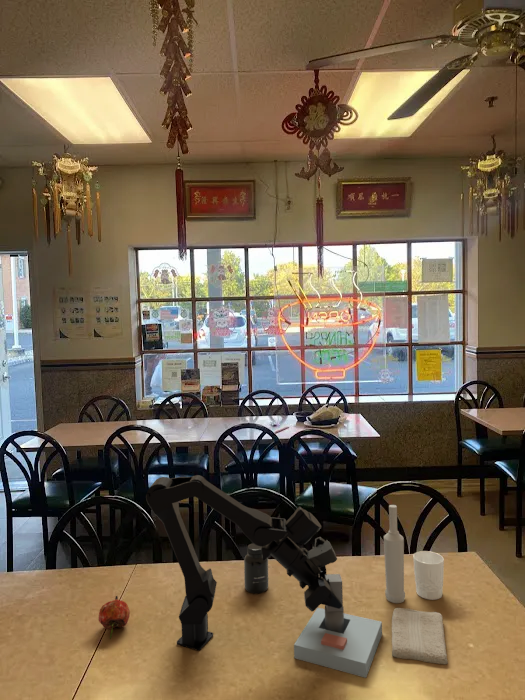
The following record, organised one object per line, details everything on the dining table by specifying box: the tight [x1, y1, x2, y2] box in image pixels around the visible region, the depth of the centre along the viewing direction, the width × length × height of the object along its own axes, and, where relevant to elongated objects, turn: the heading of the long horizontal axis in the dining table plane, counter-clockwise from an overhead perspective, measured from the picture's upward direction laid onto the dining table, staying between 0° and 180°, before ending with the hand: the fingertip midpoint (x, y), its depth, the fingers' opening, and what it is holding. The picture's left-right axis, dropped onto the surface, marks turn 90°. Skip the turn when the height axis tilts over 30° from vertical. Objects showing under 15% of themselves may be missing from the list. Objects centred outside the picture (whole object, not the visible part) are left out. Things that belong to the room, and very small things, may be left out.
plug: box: [324, 573, 345, 634], centre depth 114 cm, size 4×4×13 cm
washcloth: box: [391, 607, 449, 665], centre depth 113 cm, size 12×18×3 cm, turn 165°
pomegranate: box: [98, 595, 131, 640], centre depth 120 cm, size 7×7×10 cm
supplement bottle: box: [243, 543, 269, 594], centre depth 138 cm, size 7×7×12 cm
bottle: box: [383, 504, 406, 604], centre depth 130 cm, size 5×5×25 cm
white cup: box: [412, 550, 445, 601], centre depth 132 cm, size 8×8×10 cm
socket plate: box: [293, 607, 383, 679], centre depth 111 cm, size 16×16×4 cm
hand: (339, 602), depth 114 cm, fingers closed on plug, 3 cm apart
